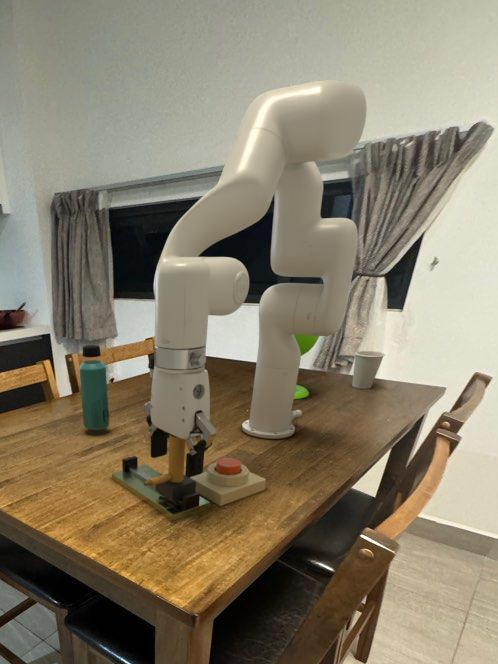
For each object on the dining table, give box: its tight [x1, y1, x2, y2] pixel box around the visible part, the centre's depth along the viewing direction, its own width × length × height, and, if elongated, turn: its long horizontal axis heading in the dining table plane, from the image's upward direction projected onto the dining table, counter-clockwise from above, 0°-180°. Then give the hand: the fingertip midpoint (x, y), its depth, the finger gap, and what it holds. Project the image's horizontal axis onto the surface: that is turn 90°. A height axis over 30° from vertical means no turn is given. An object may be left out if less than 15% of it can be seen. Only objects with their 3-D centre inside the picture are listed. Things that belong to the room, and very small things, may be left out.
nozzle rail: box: [111, 455, 211, 522], centre depth 82 cm, size 8×20×4 cm, turn 33°
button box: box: [190, 461, 267, 507], centre depth 83 cm, size 11×9×4 cm
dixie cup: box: [351, 350, 385, 390], centre depth 141 cm, size 8×8×10 cm
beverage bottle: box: [78, 344, 110, 431], centre depth 106 cm, size 6×7×20 cm
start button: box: [215, 457, 242, 475], centre depth 82 cm, size 4×4×2 cm
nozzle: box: [144, 434, 196, 504], centre depth 74 cm, size 9×5×12 cm, turn 123°
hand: (175, 465), depth 76 cm, fingers open, 9 cm apart
